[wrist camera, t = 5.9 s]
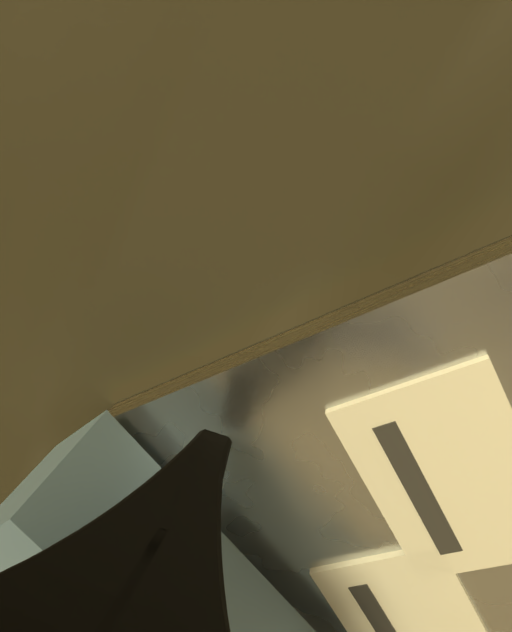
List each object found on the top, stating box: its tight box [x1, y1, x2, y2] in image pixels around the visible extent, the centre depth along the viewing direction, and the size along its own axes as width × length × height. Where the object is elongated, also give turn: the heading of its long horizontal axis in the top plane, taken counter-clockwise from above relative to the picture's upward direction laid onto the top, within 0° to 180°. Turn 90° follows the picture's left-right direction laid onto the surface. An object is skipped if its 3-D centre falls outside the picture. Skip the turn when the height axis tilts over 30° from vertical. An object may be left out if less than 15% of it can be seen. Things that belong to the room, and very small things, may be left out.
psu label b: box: [309, 549, 488, 632], centre depth 14 cm, size 6×4×1 cm, turn 30°
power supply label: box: [325, 354, 512, 574], centre depth 12 cm, size 6×4×1 cm, turn 29°
